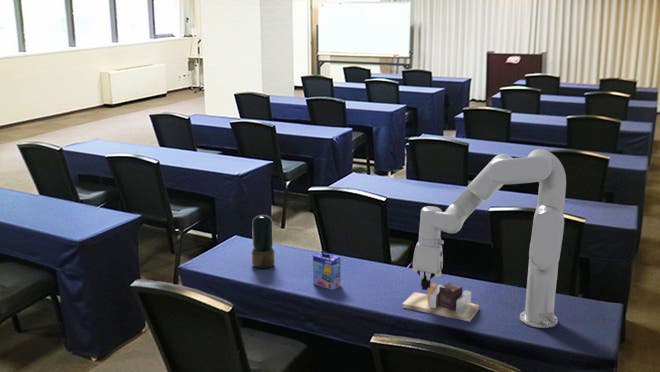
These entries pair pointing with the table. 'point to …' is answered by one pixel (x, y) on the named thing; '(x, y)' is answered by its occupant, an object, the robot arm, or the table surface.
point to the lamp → (262, 242)
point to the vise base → (420, 304)
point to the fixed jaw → (463, 302)
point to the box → (449, 295)
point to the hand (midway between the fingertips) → (425, 288)
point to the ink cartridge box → (326, 270)
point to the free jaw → (433, 295)
